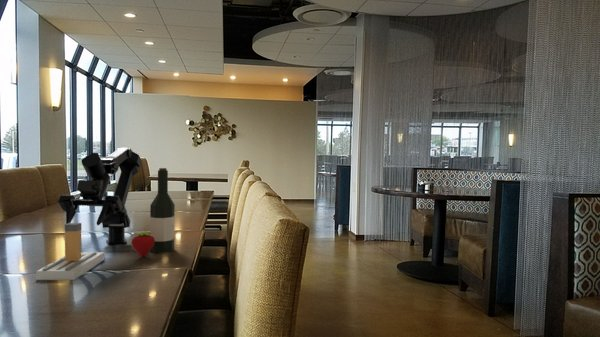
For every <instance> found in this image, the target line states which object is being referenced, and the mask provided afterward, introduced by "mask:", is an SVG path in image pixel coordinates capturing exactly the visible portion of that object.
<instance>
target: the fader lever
mask: <svg viewBox="0 0 600 337" xmlns="http://www.w3.org/2000/svg"><path fill="white" fill-rule="evenodd" d="M81 252H82V222H71V223H68V224H66V223H65V224H64V256H65V261H78V260H79V259H81Z"/></svg>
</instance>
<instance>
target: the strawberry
mask: <svg viewBox="0 0 600 337" xmlns="http://www.w3.org/2000/svg"><path fill="white" fill-rule="evenodd" d="M143 230H144V231H142V232H141V233H136V234H135V236H134V237H132V239H131V247H132V248H133V250H134V251H136V253H137V254H138V255H139V256H140V257H141V258H145V257H146V256H147V255H148V254H149V253H150V252H151V251H150V250H151V249H152V247H153V245H154V242H155V239H154V237H153V236H151V235H150V234H152V233H150V232H146V230H145V228H143Z"/></svg>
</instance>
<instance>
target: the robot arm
mask: <svg viewBox="0 0 600 337" xmlns="http://www.w3.org/2000/svg"><path fill="white" fill-rule="evenodd" d="M81 164H82V166H83V169H84V171H85V173H86V175H87V177H89V178H90V179H87V180H86V179H85V180H84V179H82V180H81V179H79V180H78V181H77V187H76V191H77V192H79V193H80V194H79V196H80V197H81V198H76V197H75V196H74V195H73V194H61V195H60V196H59V197H58V199H57V203H58V205H60V207H61V209H62V210H63V212H65V219H66V220H65V224H68V223H72V221H73V219H74V217H75V216H76V214H77V210H78V209H79V208H78V207H79V206H82V207H83V206H84V207H85V206H87V207H101V211H100V213H99V216H98V217H97V220H96V226H100V225H101V224H102V228H103V229H104V228H106V229H107V228H108V229H107V230H108V231H107V234H108V235H107V237H108V238H107V239H108V240H105V242H106V244H108V246H112V245H120V244H127V243H128V242H127V240H126V239H125V236H126V235H125V229H126V228H130V226H131V219H130V217H129V215H128V210H127V209H126V206H125V205H126V202H127V198H128V195H129V191H130V188H131V184H132V180H133V177H134V176H135V175H136V174H138V173H139V171H140V168H141V167H142V164H143V163H142V158H141V157H140V155H139V154H138V153H137V152H134V151H133V150H132V148H129V147H118V148H116V150H114V151H113V152H112V153H111V154H109V155H108V156H100V154H99V152H91V153H90V154H89V155H86V156H85V157H83V158H82V159H81ZM119 170H120V175H119V178H118V181H117V185H116V188H115V191H114V194H113V195H107V192H106V191H107V188H108V186H110V185H111V184H112V183H111V175H116V173H117V172H118V171H119Z"/></svg>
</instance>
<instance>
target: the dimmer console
mask: <svg viewBox="0 0 600 337" xmlns="http://www.w3.org/2000/svg"><path fill="white" fill-rule="evenodd" d="M104 260H105V252H101V251H100V252H99V251H93V252H91V251H86V252H84V251H83V252H82V251H81V259H79V260H78V261H65V255H64V256H62V257H61V258H59V259H57V260H55V261H53V262H51V263H49V264H46V265H44V266H43V267H42V268H40V269H38V270H36V281H75V280H76V279H78V278H79V277H81V276H83V275H84V274H85V273H87V272H88V271H90V270H91V269H92V268H94V267H95V266H98V264H100V263H101V262H103V261H104Z"/></svg>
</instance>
